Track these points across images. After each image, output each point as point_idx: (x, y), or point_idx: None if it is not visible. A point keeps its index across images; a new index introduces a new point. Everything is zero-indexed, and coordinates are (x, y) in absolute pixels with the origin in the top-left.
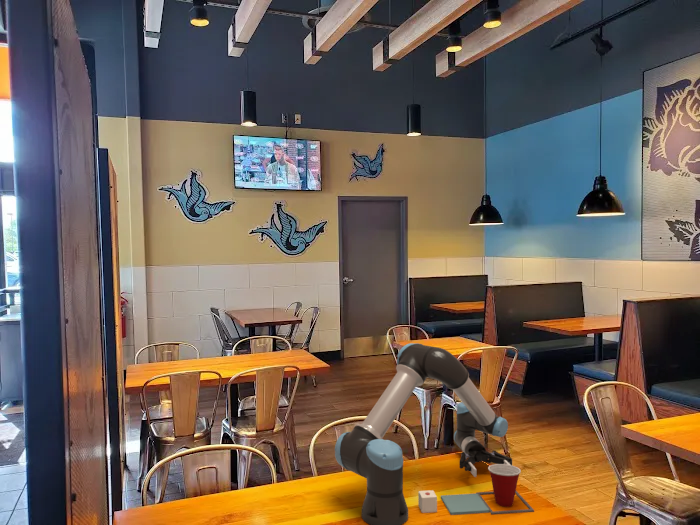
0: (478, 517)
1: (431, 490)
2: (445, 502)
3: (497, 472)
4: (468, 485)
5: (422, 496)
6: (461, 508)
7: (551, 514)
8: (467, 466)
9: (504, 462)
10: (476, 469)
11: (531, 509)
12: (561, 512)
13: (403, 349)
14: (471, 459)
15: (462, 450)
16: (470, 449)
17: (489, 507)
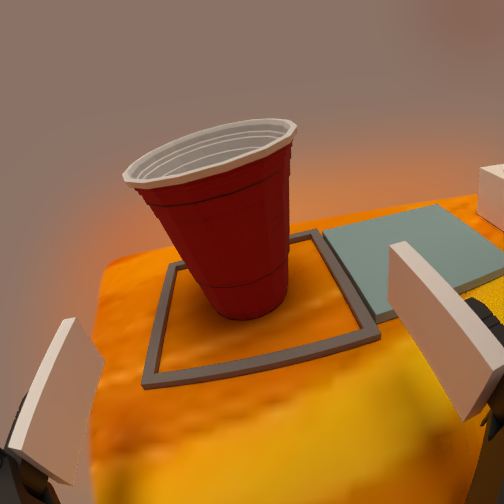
0: (358, 217)
1: None
2: (476, 233)
3: (232, 205)
4: (436, 430)
5: None
6: (415, 219)
7: (133, 266)
8: (490, 311)
9: (38, 447)
10: (389, 247)
11: (174, 264)
12: (102, 278)
13: None
14: (494, 500)
15: None
16: None
17: (320, 247)
